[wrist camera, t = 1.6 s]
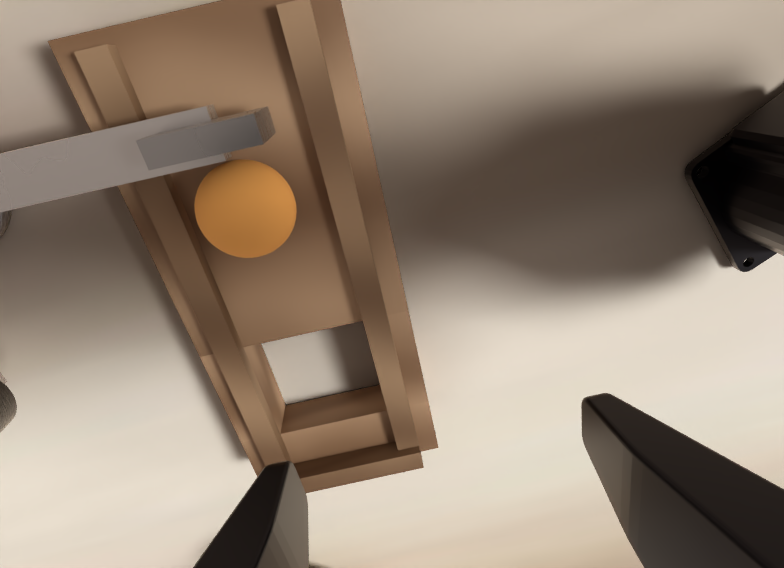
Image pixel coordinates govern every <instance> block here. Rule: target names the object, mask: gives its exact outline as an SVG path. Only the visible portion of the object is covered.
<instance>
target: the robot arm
mask: <svg viewBox="0 0 784 568" xmlns="http://www.w3.org/2000/svg"><path fill="white" fill-rule="evenodd" d="M700 167H702V171H701V173H700V174H699V175H697V171H698V169H699V168H700ZM685 177H686V180H687V181H688V183H689V185H690V187H691V189H692V191H693V193H694V195H695V196H696V198H697V200H698V202H699V204H700V206H701V208H702V210H703V212H704V213H705V215H706V217H707V219H708V221H709V223H710V225H711V227H712V228H713V230H714V232H715V234H716V236H717V238H718V240H719V242H720V244H721V245H722V247H723V249H724V251H725V253H726V255H727V257H728V259H729V261H730V262H731V264H732V266H733V267H734V268H736V269H738V270H740V271H743V272H747V271H750V270H752V269H754V268H755V267H757V266H758V265H760V264H761V263H763V262H764V261H766V260H767V259H769V258H770V257H772V256H773V255H775V254H776V253H779V254H781V255H783V256H784V91H783V92H781V93H780V94H779V95H777V96H776V97H775V98H773V99H772V100H771V101H769V102H768V103H767V104H765V105H764V106H763V107H761V108H760V109H758V110H757V111H756V112H754V113H753V114H752V115H750V116H749V117H748V118H746V119H745V120H744V121H742V122H741V123H740V124H738V125H737V126H736V127H734V128H733V130H732V131H731V132H730V133H729V134H728V135H726V136H725V137H724V138H722V139H721V140H720V141H718V142H717V143H715V144H714V145H713V146H711V147H710V148H709V149H707V150H706V151H705V152H703V153H702V154H701V155H699V156H698V157H697V158H695V159H694V160H692V161H691V162H690V163H689V164H688V166H687V167H686V169H685ZM746 258H747V260H746V261H745V262H744V260H745V259H746ZM743 262H744V263H743ZM582 437H583V442H584V445H585V448H586V450H587V452H588V454H589V456H590V459H591V461H592V463H593V465H594V467H595V469H596V472H597V474H598V476H599V478H600V480H601V482H602V485H603V487H604V489H605V491H606V493H607V495H608V498H609V500H610V502H611V504H612V506H613V508H614V511H615V513H616V515H617V517H618V519H619V521H620V524H621V526H622V528H623V530H624V532H625V534H626V536H627V538H628V540H629V542H630V544H631V545H632V547H633V549H634V551H635V553H636V554H637V556H638V558H639V559H640V561H641V563H642V564H643V566H644V568H784V489H782V488H780V487H779V486H777V485H775V484H773V483H771V482H769V481H768V480H766V479H764V478H762V477H760V476H759V475H757V474H755V473H753V472H751V471H750V470H748V469H746V468H744V467H742V466H740V465H739V464H737V463H735V462H733V461H731V460H730V459H728V458H726V457H724V456H722V455H720V454H719V453H717V452H715V451H713V450H711V449H710V448H708V447H706V446H704V445H702V444H700V443H699V442H697V441H695V440H693V439H691V438H690V437H688V436H686V435H684V434H682V433H680V432H679V431H677V430H675V429H673V428H671V427H670V426H668V425H666V424H664V423H662V422H660V421H659V420H657V419H655V418H653V417H651V416H650V415H648V414H646V413H644V412H642V411H641V410H639V409H637V408H635V407H633V406H631V405H630V404H628V403H626V402H624V401H622V400H621V399H619V398H617V397H615V396H613V395H611V394H608V393H603V394H598V395H593V396H588V397H585V398H584V399H583V401H582ZM193 568H309V546H308V502H307V496H306V493H305V490H304V488H303V485H302V483H301V480H300V478H299V476H298V473H297V471H296V468H295V466H294V464H293V463H292V462H291V461H288V460H287V461H282V462H277V463H272V464H269V465H267V466H266V467H265V468H264V469H263V470H262V471H261V473H260V474H259V476H258V477H257V479H256V480H255V481H254V483H253V484H252V486H251V487H250V488H249V490H248V491H247V493H246V494H245V495H244V497H243V498H242V500H241V501H240V502H239V504H238V505H237V507H236V508H235V509H234V511H233V512H232V514H231V515H230V516H229V518H228V519H227V521H226V522H225V524H224V525H223V526H222V528H221V529H220V531H219V532H218V533H217V535H216V536H215V538H214V539H213V540H212V542H211V543H210V545H209V546H208V547H207V549H206V550H205V552H204V553H203V554H202V556H201V557H200V559H199V560H198V561H197V563H196V564H195V566H194V567H193Z"/></svg>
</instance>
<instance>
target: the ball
mask: <svg viewBox="0 0 784 568" xmlns="http://www.w3.org/2000/svg"><path fill="white" fill-rule="evenodd" d="M194 207H195V216H196V220H197V223H198V226H199V228H200V230H201V231H202V233H203V235H204V236H205V237H206V238H207V240H208V241H209V242H210V243H211V244H212V245H214V246H215V247H216V248H218V249H219V250H221V251H223V252H225V253H227V254H229V255H232V256H236V257H241V258H254V257H260V256H264V255H266V254H269V253H271V252H273V251H275V250H276V249H277V248H279V247H280V246H281V245H282V244H283V243H284V242H285V241H286V240H287V239H288V237H289V236H290V234H291V232H292V230H293V228H294V225H295V221H296V212H297V209H296V201H295V197H294V195H293V192H292V190H291V188H290V186H289V184H288V183H287V181H286V180H285V179H284V178H283V177H282V175H280V174H279V173H278V172H277V171H276V170H274V169H273V168H271V167H270V166H268V165H266V164H263V163H261V162H258V161H254V160H242V159H239V160H232V161H228V162H225V163H223V164H221V165H219V166H217V167H215V168H214V169H213V170H211V171H210V172H209V173H208V174H207V175H206V176H205V178H204V179H203V180H202V182H201V183H200V185H199V187H198V190H197V193H196V197H195V204H194Z"/></svg>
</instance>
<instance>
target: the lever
mask: <svg viewBox="0 0 784 568" xmlns="http://www.w3.org/2000/svg"><path fill="white" fill-rule="evenodd" d="M275 133H276V130H275V127H274V124H273V120H272V117H271V114H270V111H269V107H268V106H266V107H262V108H258V109H253V110H249V111H245V112H240V113H236V114H232V115H227V116H223V117H219V118H218V116H217V113H216V111H215V108H214V105H213V104H212V105H207V106H203V107H199V108H194V109H190V110H185V111H181V112H177V113H172V114H168V115H164V116H159V117H155V118H151V119H146V120H142V121H138V122H133V123H129V124H125V125H120V126H116V127H112V128H107V129H103V130H99V131H94V132H90V133H86V134H81V135H77V136H73V137H68V138H64V139H60V140H55V141H51V142H47V143H42V144H38V145H33V146H29V147H25V148H20V149H16V150H12V151H7V152H3V153H0V212H4V211H9V210H13V209H18V208H22V207H26V206H31V205H35V204H39V203H44V202H48V201H53V200H57V199H61V198H66V197H70V196H74V195H79V194H83V193H88V192H92V191H96V190H101V189H105V188H109V187H114V186H118V185H123V184H127V183H131V182H136V181H140V180H145V179H149V178H153V177H158V176H162V175H166V174H171V173H175V172H180V171H184V170H188V169H193V168H197V167H201V166H206V165H210V164H215V163H219V162H223V161H226V160H228V159H229V158H230V157H231V156H232V155H231V153H230V152H232V151H237V150H241V149H245V148H250V147H254V146H258V145H263V144H264V143H265V142H267V141H268V140H269V139H270V138H271V137H272V136H273V135H274V134H275ZM6 382H7V381H6V380H5V378H4V377H3V375H2V374H1V373H0V432H1V431H2V430H3V429H4V428H5V427H6V426H7V425H8V424H9V423H10V422H11V421H12V419H13V418H14V416H15V414H16V410H17V405H16V400H15V398H14V396H13V394H12V392H11V391H10V390H9V388H8V387H7V386H6V385H5V383H6Z"/></svg>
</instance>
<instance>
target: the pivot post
mask: <svg viewBox="0 0 784 568" xmlns="http://www.w3.org/2000/svg"><path fill="white" fill-rule="evenodd" d="M10 217H11V210H9V211H4V212H0V237H1V236H2V235H3V234H4V232H5V231H6V229H7V227H8V225H9V222H10Z"/></svg>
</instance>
